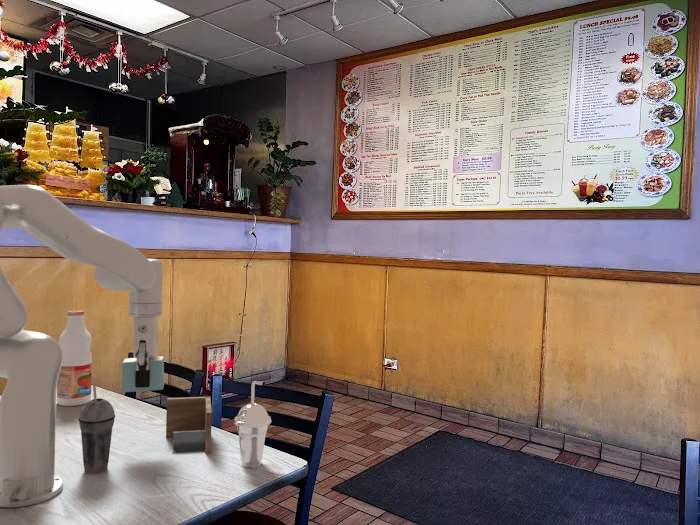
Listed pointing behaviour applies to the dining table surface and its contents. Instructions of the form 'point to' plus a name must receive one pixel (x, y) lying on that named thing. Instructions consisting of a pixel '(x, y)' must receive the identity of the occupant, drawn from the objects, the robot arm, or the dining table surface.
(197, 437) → the dark grey rectangular block
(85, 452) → the beverage cup
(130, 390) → the pale teal block
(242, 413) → the cup with straw
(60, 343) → the fruit juice
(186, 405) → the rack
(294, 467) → the dining table surface
